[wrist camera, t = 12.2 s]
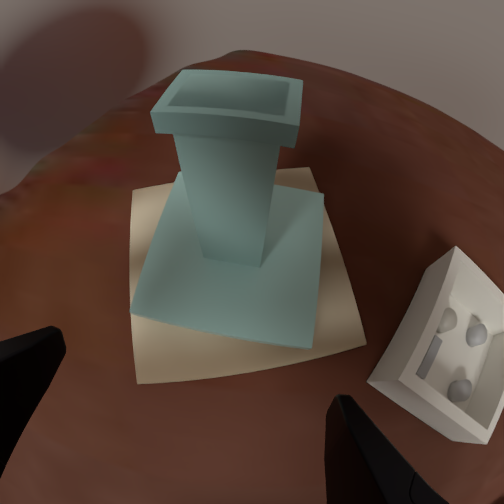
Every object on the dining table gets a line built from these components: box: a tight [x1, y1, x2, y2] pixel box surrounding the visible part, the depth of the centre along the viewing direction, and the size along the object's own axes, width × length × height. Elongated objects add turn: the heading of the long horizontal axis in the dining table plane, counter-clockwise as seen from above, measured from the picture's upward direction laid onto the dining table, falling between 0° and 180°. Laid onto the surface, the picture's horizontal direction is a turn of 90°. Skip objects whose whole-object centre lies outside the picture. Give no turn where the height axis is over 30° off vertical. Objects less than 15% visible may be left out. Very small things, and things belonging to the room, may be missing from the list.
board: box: [130, 167, 367, 384], centre depth 18 cm, size 14×14×1 cm
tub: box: [366, 246, 504, 444], centre depth 14 cm, size 10×10×4 cm
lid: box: [129, 70, 324, 350], centre depth 12 cm, size 10×10×12 cm
